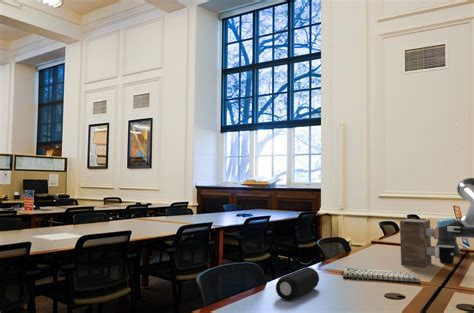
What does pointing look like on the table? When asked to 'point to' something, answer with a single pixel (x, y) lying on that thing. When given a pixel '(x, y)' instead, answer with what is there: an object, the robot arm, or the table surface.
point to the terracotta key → (432, 232)
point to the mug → (446, 254)
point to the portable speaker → (297, 283)
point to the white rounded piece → (433, 251)
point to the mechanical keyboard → (380, 276)
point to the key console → (415, 243)
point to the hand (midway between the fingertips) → (447, 228)
